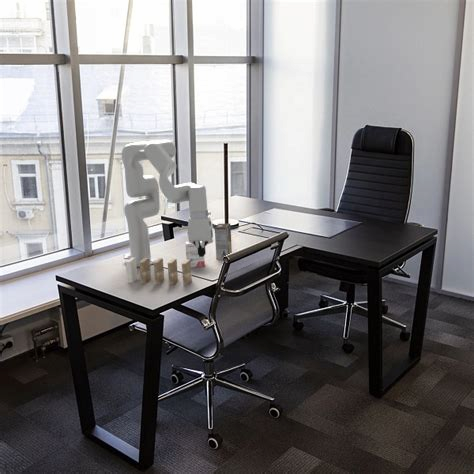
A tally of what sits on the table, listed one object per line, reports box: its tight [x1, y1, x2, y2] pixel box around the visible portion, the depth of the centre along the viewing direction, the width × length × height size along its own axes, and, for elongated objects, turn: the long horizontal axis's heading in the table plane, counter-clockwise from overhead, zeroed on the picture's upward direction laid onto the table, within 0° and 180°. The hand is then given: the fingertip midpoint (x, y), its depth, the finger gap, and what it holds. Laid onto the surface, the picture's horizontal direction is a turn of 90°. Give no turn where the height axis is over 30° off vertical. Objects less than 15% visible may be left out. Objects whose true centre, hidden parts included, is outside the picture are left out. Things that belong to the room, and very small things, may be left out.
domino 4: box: [181, 258, 193, 287], centre depth 259 cm, size 2×6×10 cm, turn 166°
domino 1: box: [139, 258, 152, 284], centre depth 264 cm, size 2×6×10 cm, turn 166°
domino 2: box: [153, 258, 165, 285], centre depth 263 cm, size 2×6×10 cm, turn 166°
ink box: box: [184, 241, 206, 268], centre depth 282 cm, size 8×5×12 cm, turn 96°
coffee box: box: [214, 223, 233, 260], centre depth 293 cm, size 9×6×16 cm
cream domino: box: [125, 257, 138, 284], centre depth 266 cm, size 2×6×10 cm, turn 166°
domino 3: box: [167, 258, 179, 286], centre depth 261 cm, size 2×6×10 cm, turn 166°
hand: (201, 255), depth 255 cm, fingers closed
